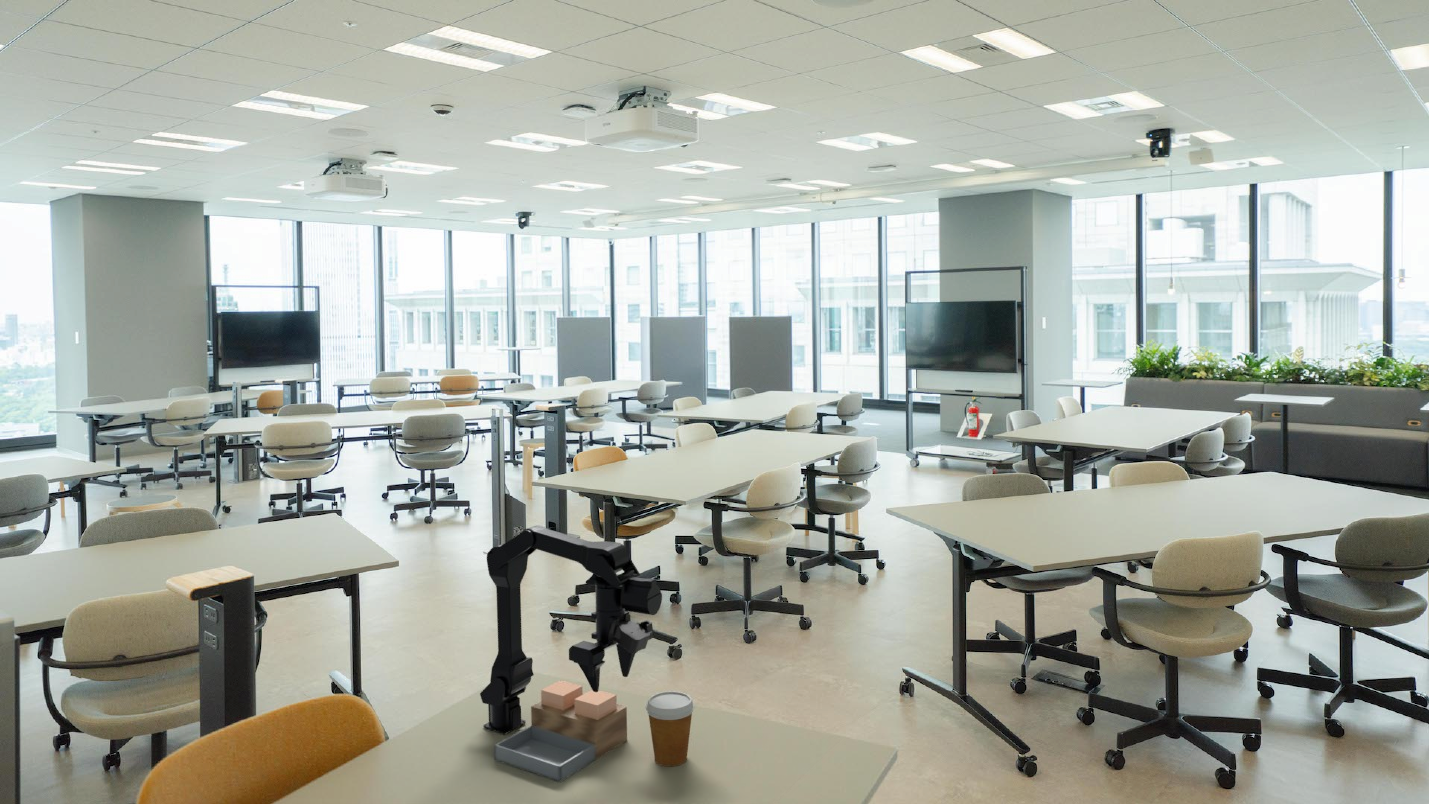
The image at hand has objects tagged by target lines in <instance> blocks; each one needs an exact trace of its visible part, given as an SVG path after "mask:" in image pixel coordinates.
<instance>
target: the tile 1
mask: <svg viewBox="0 0 1429 804" xmlns="http://www.w3.org/2000/svg"><path fill="white" fill-rule="evenodd" d="M583 694H584V693H583V685H579V684H575V683H572V682H568V681H564V680H561V679H560V680H559V681H556V682H555V683H552V684H551V685H548V686H547V687H545V688H542V689H541V690H540V697H541V700H540V702H541V704H543V705H546V706H550V707H553V708H557V709H561V710H565V709H567V708H569V707H571V706H572V705H574V704H575V703H574V699H576V698H577V697H579V696H581V695H583Z"/></svg>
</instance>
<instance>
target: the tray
mask: <svg viewBox="0 0 1429 804" xmlns="http://www.w3.org/2000/svg"><path fill="white" fill-rule="evenodd" d="M493 749H494V750H493V754H494V755H493V758H494V761H496V762H498V763H503V764H505V765H508V766H511V767H514V768H517V769H520V770H523V771H526V772H529V773H531V774H535V775H538V776H541V777H544V778H546V779H549V780H552V781H555V782H558V783H561V782H563V781H565V780H566V779H567V778H569V777H571V776H573V774H576V773H577V772H579V771H580V770H581V769H583V768H585V767H586V766H588V765H590V764H591V763H592V762H593V763H594V762H595V761H596V760H597V759H596V745H595V744H592V743H588V742H585V741H582V740H579V739H575V738H572V737H569V736H565V735H562V734H559V733H555V732H552V731H549V730H545V729H542V728H539V727H535V726H532V724H531V725H530V726H528V727H525V728H524V729H521V731H518V732H516V733H515V734H512V735H511V736H508V737H507V738H504V739H503V740H501V741H500V742H499V741H498V742H497V743H496V744H494V745H493Z"/></svg>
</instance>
